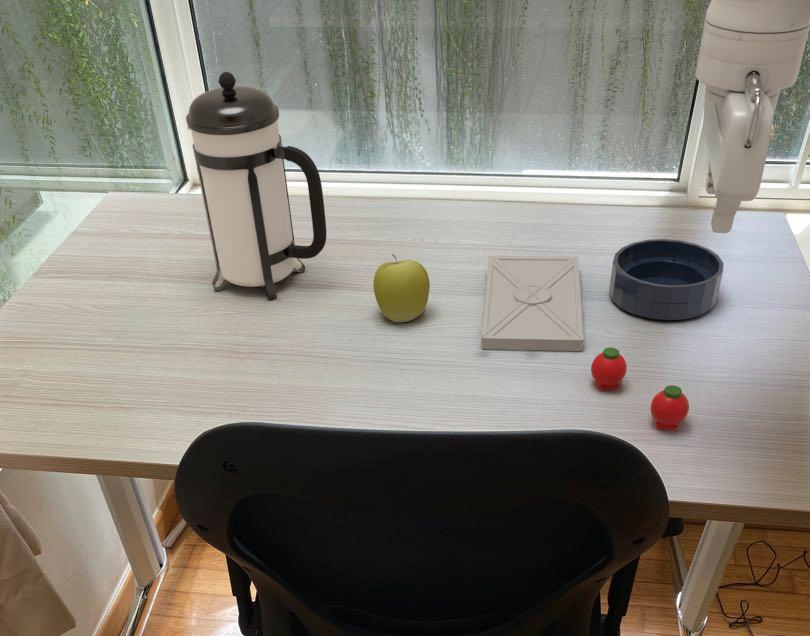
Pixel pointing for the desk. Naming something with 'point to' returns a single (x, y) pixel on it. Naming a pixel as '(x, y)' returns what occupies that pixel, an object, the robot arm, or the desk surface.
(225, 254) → the coffee press
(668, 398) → the toy tomato
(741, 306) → the desk surface
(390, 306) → the apple
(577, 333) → the envelope
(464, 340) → the desk surface
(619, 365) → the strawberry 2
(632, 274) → the bowl
